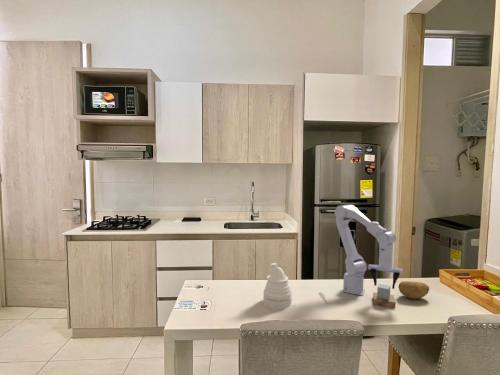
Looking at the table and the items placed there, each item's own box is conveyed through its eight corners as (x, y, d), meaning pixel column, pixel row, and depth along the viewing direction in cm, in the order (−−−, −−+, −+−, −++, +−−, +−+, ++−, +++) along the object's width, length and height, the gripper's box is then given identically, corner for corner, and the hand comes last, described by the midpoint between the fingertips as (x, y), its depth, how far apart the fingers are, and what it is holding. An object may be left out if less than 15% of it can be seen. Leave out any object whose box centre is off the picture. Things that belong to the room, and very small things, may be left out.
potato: (433, 302, 153) (434, 286, 152) (402, 301, 154) (403, 284, 153) (423, 294, 163) (424, 278, 162) (394, 293, 163) (395, 277, 163)
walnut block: (373, 305, 149) (374, 299, 149) (373, 298, 158) (373, 292, 158) (395, 308, 147) (395, 302, 146) (393, 301, 155) (393, 294, 155)
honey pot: (259, 306, 147) (260, 266, 145) (268, 295, 159) (268, 259, 157) (287, 310, 142) (288, 270, 141) (294, 299, 154) (295, 262, 153)
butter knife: (324, 292, 163) (318, 291, 163) (339, 317, 136) (332, 317, 136) (324, 293, 163) (318, 292, 163) (339, 319, 136) (332, 318, 136)
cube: (377, 297, 151) (377, 287, 151) (378, 294, 156) (379, 283, 155) (388, 299, 149) (389, 289, 149) (390, 296, 153) (390, 285, 153)
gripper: (367, 257, 151) (366, 286, 152) (402, 262, 144) (400, 292, 145) (370, 254, 157) (368, 281, 158) (403, 258, 150) (401, 287, 151)
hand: (384, 286), depth 152 cm, fingers open, 7 cm apart
